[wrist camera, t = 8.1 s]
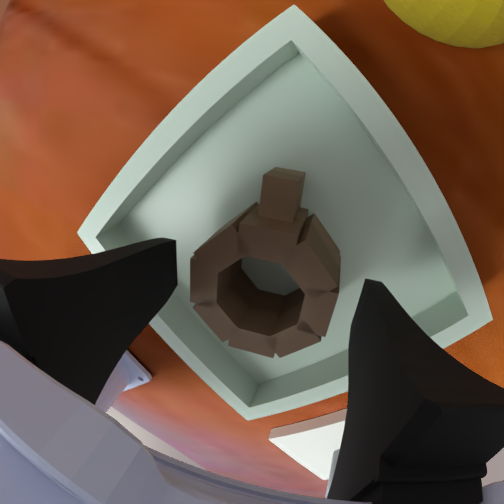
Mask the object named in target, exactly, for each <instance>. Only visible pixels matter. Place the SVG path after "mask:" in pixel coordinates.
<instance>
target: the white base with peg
mask: <svg viewBox="0 0 504 504" xmlns="http://www.w3.org/2000/svg"><path fill="white" fill-rule="evenodd" d="M346 413H347V408H346V409H343V410H339V411H336V412H333V413H330V414H327V415H323V416H320V417H316V418H313V419H309V420H305V421H302V422H298V423H294V424H290V425H286V426H282V427H277V428H273V429H271V432H270V436H269V440H270V441H271V442H272V443H274V444H275V445H276V446H278V447H279V448H280V449H281V450H283V451H284V452H285V453H287V454H288V455H289V456H291V457H292V458H293V459H295V460H296V461H297V462H299V463H300V464H301V465H303V466H304V467H306V468H307V469H308V470H310V471H311V472H313V473H314V474H316V475H317V476H318V477H320V478H321V479H323V480H326V479H329V480H328V485H327V491H326V496H325V498H326V499H327V496H328V493H329V489H330V486H331V483H332V479H333V475H334V471H335V468H336V464H337V459H338V455H339V451H340V446H341V441H342V436H343V431H344V425H345V419H346Z"/></svg>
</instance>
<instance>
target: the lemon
mask: <svg viewBox="0 0 504 504" xmlns="http://www.w3.org/2000/svg"><path fill="white" fill-rule="evenodd" d="M383 1H384V2H385V3H386V5H387V6H388V7H389V9H390V10H391V11H392V12H394V13H395V14H396V15H397V16H398V17H399V18H400V19H401V20H402V21H403V22H404V23H406V24H407V25H409V26H410V27H412V28H413V29H415V30H416V31H417V32H419V33H421V34H423V35H425V36H427V37H429V38H431V39H433V40H435V41H438V42H442V43H445V44H448V45H452V46H455V47H467V48H484V47H489V46H494V45H499V44H503V43H504V0H383Z"/></svg>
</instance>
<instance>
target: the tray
mask: <svg viewBox="0 0 504 504" xmlns="http://www.w3.org/2000/svg"><path fill="white" fill-rule="evenodd" d="M275 167H279V168H285V169H291V170H296V171H302V172H306V174H305V180H304V187H303V193H302V199H301V205H300V208H305V209H309V210H308V216H307V217H309V216H310V215H312V214H314V213H315V215H316V216H317V217H318V219H319V220H320V222H321V223H322V225H323V226H324V228H325V229H326V231H327V232H328V234H329V235H330V236H331V238H332V239H333V241H334V242H335V244H336V245H337V247H338V248H339V250H340V256H341V267H340V286H339V295H338V299H337V302H336V305H335V309H334V312H333V315H332V318H331V321H330V324H329V328H328V331H327V334H326V337H323V336H322V338H321V342H318V343H316V344H314V345H311V346H309V347H306V348H304V349H302V350H299V351H297V352H294V353H292V354H289V355H286V356H284V357H281V358H279V357H278V355H277V354H276V353H275V355H274V358H270V357H267V356H263V355H259V354H255V353H252V352H248V351H245V350H241V349H238V348H234V347H231V346H228V343H229V340H227V341H224V342H222V341H221V340H220V339H219V338H218V337H217V335H216V334H215V333H214V332H213V331H212V330H211V329H210V327H209V326H208V325H207V324H206V323H205V322H204V321H203V319H202V318H201V317H200V316H199V315H198V314H197V312H196V311H195V310H194V309H193V308H192V307H193V306H194V305H195V304H196V303H193V302H190V258H191V257H192V256H193V255H194V254H193V252H194V251H196V250H197V249H198V248H199V247H200V246H201V245H202V244H203V243H204V242H206V241H207V240H208V239H209V238H210V237H211V236H212V235H213V234H214V233H216V232H217V231H218V230H219V229H220V228H221V227H222V226H224V225H225V224H226V223H228V222H229V221H230V220H232V219H233V218H234V217H236V216H237V215H238V214H240V213H241V212H243V211H244V210H245V209H247V208H248V207H250V206H251V205H252V204H254V203H255V202H257V203H258V204H259V203H260V196H261V188H262V180H263V175H264V174H265V173H267V172H268V171H270V170H272V169H273V168H275ZM77 233H78V235H79V236H80V238H81V239H82V240H83V242H84V243H85V245H86V246H87V247H88V249H89V250H90V251H91V253H92V254H95V253H99V252H103V251H107V250H111V249H115V248H119V247H123V246H126V245H130V244H134V243H137V242H141V241H145V240H150V239H154V238H162V237H164V238H168V239H173V240H176V250H177V278H178V285H177V287H176V289H175V290H174V292H173V294H172V295H171V297H170V298H169V300H168V301H167V303H166V304H165V305H164V306H163V308H162V309H161V310H160V311H159V312H158V313H157V314H156V316H155V317H154V318H153V319H152V320H151V321H150V322H149V324H150V325H151V327H152V328H153V329H154V330H155V331H156V332H157V333H158V334H159V335H160V337H161V338H162V339H163V340H164V341H165V342H166V343H167V344H168V345H169V346H170V347H171V348H172V349H173V350H174V351H175V353H176V354H177V355H178V356H179V357H180V358H181V359H182V360H183V361H184V362H185V363H186V364H187V365H188V366H189V367H190V368H191V369H192V370H193V371H194V372H195V373H196V374H197V375H198V376H199V377H200V378H201V379H202V380H203V381H204V382H205V383H206V384H208V385H209V386H210V387H211V388H212V389H213V390H214V391H215V392H216V393H217V394H218V395H219V396H220V397H221V398H222V399H224V400H225V401H226V402H227V403H228V404H229V405H230V406H231V407H232V408H234V409H235V410H236V411H237V412H238V413H239V414H240V415H242V416H243V417H244V418H245V419H246V420H247V421H248V420H252V419H257V418H261V417H265V416H269V415H273V414H277V413H280V412H284V411H288V410H291V409H295V408H298V407H301V406H305V405H308V404H311V403H314V402H318V401H321V400H324V399H327V398H330V397H333V396H336V395H338V394H341V393H344V392H347V391H348V346H349V337H350V328H351V323H352V320H353V317H354V314H355V311H356V307H357V304H358V301H359V298H360V294H361V291H362V288H363V284H364V281H365V278H366V279H371V280H376V281H381V282H382V283H383V284H384V285H385V286H386V287H387V288H388V290H389V291H390V292H391V293H392V295H393V296H394V297H395V298H396V300H397V301H398V302H399V304H400V305H401V306H402V307H403V308H404V310H405V311H406V312H407V313H408V314H409V316H410V317H411V318H412V319H413V320H414V321H415V322H416V323H417V325H418V326H419V327H420V328H421V329H422V330H423V331H424V332H425V333H426V334H427V335H428V336H429V337H430V338H431V339H432V340H433V341H434V342H436V343H437V344H438V345H439V346H440V347H441V348H442V349H444V348H445V347H447V346H449V345H451V344H453V343H455V342H456V341H458V340H460V339H462V338H464V337H465V336H467V335H469V334H470V333H472V332H474V331H475V330H477V329H479V328H480V327H482V326H484V325H485V324H487V323H488V322H490V321H492V320H493V318H492V315H491V311H490V308H489V305H488V301H487V298H486V295H485V292H484V289H483V286H482V284H481V281H480V278H479V275H478V272H477V270H476V267H475V265H474V262H473V259H472V257H471V254H470V252H469V250H468V247H467V245H466V242H465V240H464V238H463V236H462V233H461V231H460V229H459V227H458V225H457V222H456V220H455V218H454V216H453V214H452V212H451V210H450V208H449V206H448V204H447V202H446V200H445V198H444V196H443V194H442V192H441V190H440V189H439V187H438V185H437V183H436V181H435V180H434V178H433V176H432V174H431V172H430V171H429V169H428V167H427V166H426V164H425V162H424V161H423V159H422V157H421V156H420V154H419V152H418V151H417V149H416V148H415V146H414V144H413V143H412V141H411V140H410V138H409V137H408V135H407V134H406V132H405V131H404V129H403V128H402V126H401V125H400V123H399V122H398V120H397V119H396V118H395V116H394V115H393V113H392V112H391V111H390V109H389V108H388V107H387V105H386V104H385V103H384V101H383V100H382V99H381V97H380V96H379V95H378V93H377V92H376V91H375V90H374V88H373V87H372V86H371V85H370V83H369V82H368V81H367V80H366V78H365V77H364V76H363V75H362V74H361V72H360V71H359V70H358V69H357V68H356V66H355V65H354V64H353V63H352V62H351V61H350V60H349V59H348V57H347V56H346V55H345V54H344V53H343V52H342V51H341V50H340V49H339V48H338V46H337V45H336V44H335V43H334V42H333V41H332V40H331V39H330V38H329V37H328V36H327V35H326V34H325V33H324V32H323V31H322V30H321V29H320V28H319V27H318V26H317V25H316V24H315V23H314V22H313V21H312V20H311V19H310V18H309V17H307V16H306V15H305V14H304V13H303V12H302V11H301V10H300V9H299V8H298V7H296V6H295V5H292V6H291V7H290V8H288V9H287V10H285V11H284V12H283V13H281V14H280V15H278V16H277V17H276V18H274V19H273V20H272V21H270V22H269V23H268V24H266V25H265V26H264V27H263V28H261V29H260V30H259V31H258V32H256V33H255V34H254V35H253V36H251V37H250V38H249V39H248V40H246V41H245V42H244V43H243V44H242V45H240V46H239V47H238V48H237V49H236V50H235V51H233V52H232V53H231V54H230V55H229V56H228V57H226V58H225V59H224V60H223V61H222V62H221V63H220V64H219V65H218V66H216V67H215V68H214V69H213V70H212V71H211V72H210V73H209V74H208V75H207V76H206V77H205V78H204V79H203V80H202V81H201V82H200V83H198V84H197V85H196V86H195V87H194V88H193V89H192V90H191V91H190V92H189V93H188V94H187V95H186V96H185V97H184V98H183V99H182V101H181V102H180V103H179V104H178V105H177V106H176V107H175V108H174V109H173V110H172V111H171V112H170V113H169V114H168V115H167V116H166V118H165V119H164V120H163V121H162V122H161V123H160V124H159V125H158V126H157V128H156V129H155V130H154V131H153V132H152V133H151V134H150V136H149V137H148V138H147V139H146V140H145V141H144V143H143V144H142V145H141V146H140V147H139V148H138V150H137V151H136V152H135V153H134V155H133V156H132V157H131V158H130V160H129V161H128V162H127V163H126V165H125V166H124V167H123V168H122V170H121V171H120V172H119V174H118V175H117V176H116V177H115V179H114V180H113V181H112V183H111V184H110V185H109V187H108V188H107V190H106V191H105V192H104V194H103V195H102V196H101V198H100V199H99V201H98V202H97V204H96V205H95V206H94V208H93V209H92V211H91V212H90V214H89V215H88V217H87V218H86V220H85V221H84V223H83V224H82V226H81V227H80V229H79V230H78V232H77ZM241 268H242V269H243V271H244V272H245V273H246V274H247V276H248V277H249V278H250V279H251V281H252V282H253V283H254V285H255V286H256V287H257V288H258V289H260V290H264V291H268V292H272V293H276V294H280V295H284V296H285V295H287V294H289V293H291V292H293V291H295V290H297V289H299V288H300V287H299V285H298V284H297V283H296V281H295V280H294V279H293V277H292V276H291V275H290V273H289V272H288V270H287V269H286V268H285V266H284V265H283V264H279V263H274V262H270V261H265V260H261V259H257V258H252V257H248V256H244V257H243V258H242V265H241Z"/></svg>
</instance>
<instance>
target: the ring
mask: <svg viewBox="0 0 504 504" xmlns="http://www.w3.org/2000/svg"><path fill="white" fill-rule="evenodd" d="M305 174H306V172H302V171H296V170H291V169H285V168H279V167H275V168H273V169H272V170H270V171H268V172H267V173H265V174H264V175H263V180H262V188H261V196H260V203H259V204H258V203H257V202H255V203H254V204H252V205H251V206H250V207H248V208H247V209H245V210H244V211H243V212H241V213H240V214H238V215H237V216H236V217H234V218H233V219H232V220H230V221H229V222H228V223H226V224H225V225H224V226H222V227H221V228H220V229H219V230H218V231H217V232H216V233H214V234H213V235H212V236H211V237H210V238H209V239H208V240H207V241H206V242H204V243H203V244H202V245H201V246H200V247H199V248H198V249H197V250H196V251H194V252H193V254H194V255H193V256H192V257H191V258H190V302H193V303H196V304H195V305H194V306H193V307H192V308H193V309H194V310H195V311H196V312H197V314H198V315H199V316H200V317H201V318H202V319H203V321H204V322H205V323H206V324H207V325H208V326H209V327H210V329H211V330H212V331H213V332H214V333H215V334H216V335H217V337H218V338H219V339H220V340H221V341H222V342H224V341H227V340H229V343H228V346H231V347H234V348H238V349H241V350H245V351H248V352H252V353H255V354H259V355H263V356H267V357H270V358H274V355H275V353H276V354H277V355H278V357H279V358H281V357H284V356H286V355H289V354H292V353H294V352H297V351H299V350H302V349H304V348H306V347H309V346H311V345H314V344H316V343H318V342H321V338H322V336H323V337H326V334H327V331H328V328H329V324H330V321H331V318H332V315H333V312H334V309H335V305H336V302H337V299H338V295H339V286H340V267H341V256H340V250H339V248H338V247H337V245H336V244H335V242H334V241H333V239H332V238H331V236H330V235H329V234H328V232H327V231H326V229H325V228H324V226H323V225H322V223H321V222H320V220H319V219H318V217H317V216H316V215H315V213H314V214H312V215H310V216H309V217H307V216H308V210H309V209H305V208H300V205H301V199H302V193H303V187H304V180H305ZM244 256H248V257H252V258H257V259H261V260H265V261H270V262H274V263H279V264H283V265H284V266H285V268H286V269H287V270H288V272H289V273H290V275H291V276H292V277H293V279H294V280H295V281H296V283H297V284H298V285H299V287H300V288H299V289H297V290H295V291H293V292H291V293H289V294H287V295H285V296H284V295H280V294H276V293H272V292H268V291H264V290H260V289H258V288H257V287H256V286H255V285H254V283H253V282H252V281H251V279H250V278H249V277H248V276H247V274H246V273H245V272H244V271H243V269H242V268H241V265H242V258H243V257H244Z"/></svg>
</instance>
